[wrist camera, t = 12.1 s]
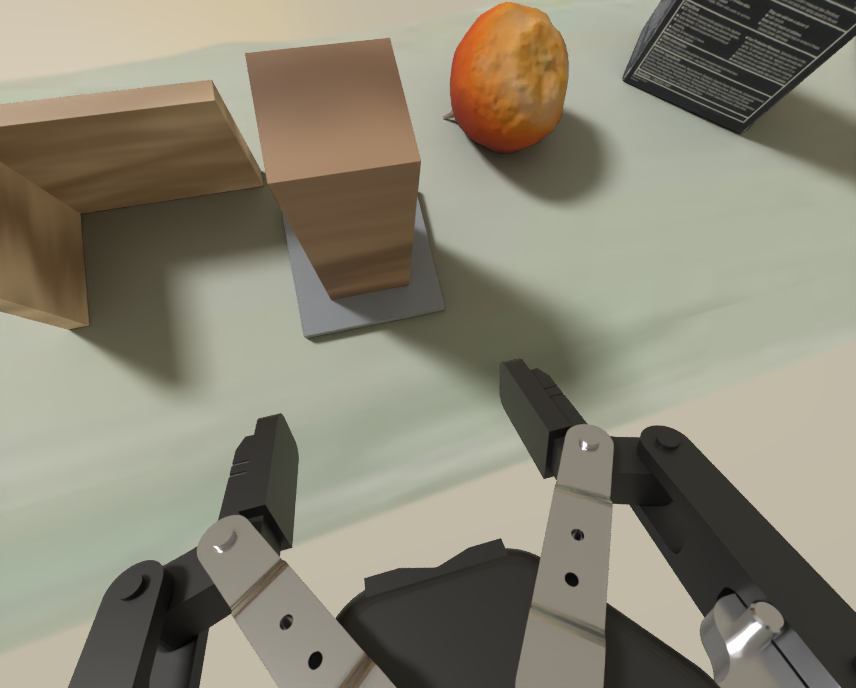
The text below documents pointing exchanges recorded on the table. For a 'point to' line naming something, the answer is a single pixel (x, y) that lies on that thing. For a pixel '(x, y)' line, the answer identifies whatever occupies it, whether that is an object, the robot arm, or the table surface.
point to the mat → (370, 307)
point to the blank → (340, 159)
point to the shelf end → (101, 179)
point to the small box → (736, 53)
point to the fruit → (509, 78)
